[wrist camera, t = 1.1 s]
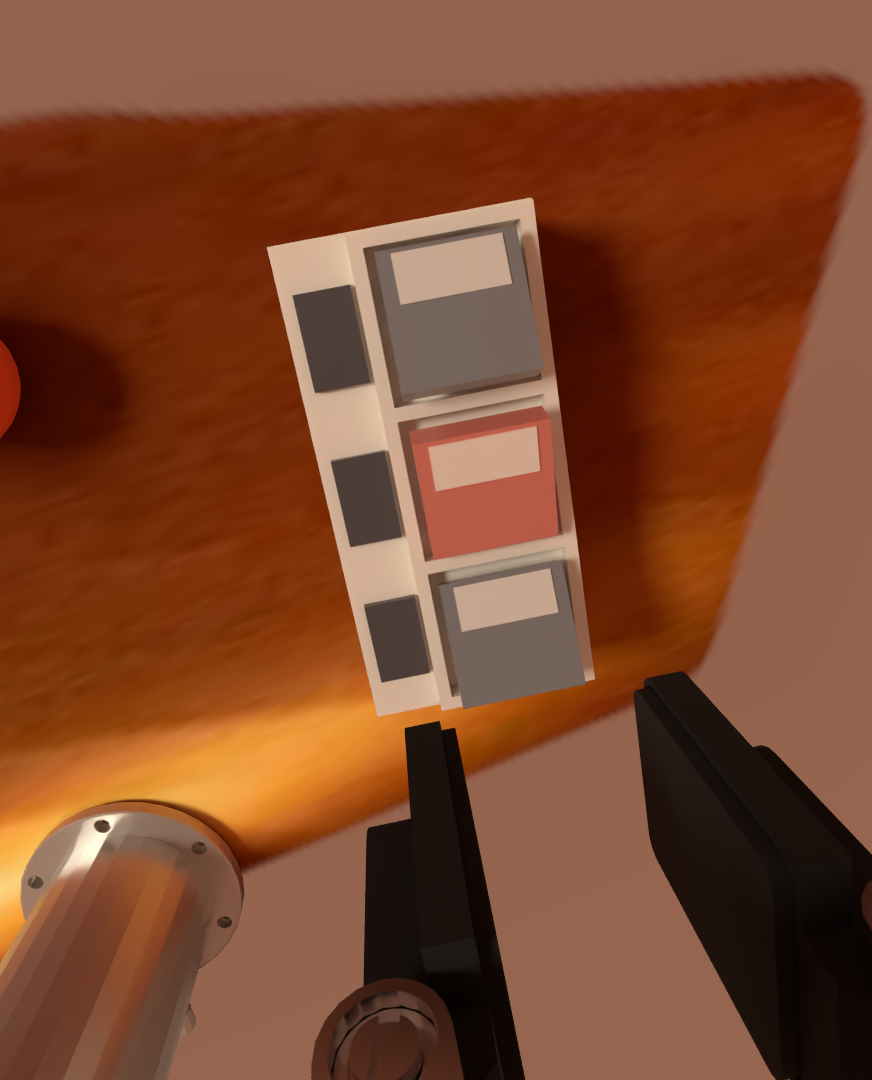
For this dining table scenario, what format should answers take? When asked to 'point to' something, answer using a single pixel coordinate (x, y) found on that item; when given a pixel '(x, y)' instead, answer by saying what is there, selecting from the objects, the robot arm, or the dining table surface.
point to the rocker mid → (487, 481)
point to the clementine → (8, 388)
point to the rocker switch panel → (406, 448)
